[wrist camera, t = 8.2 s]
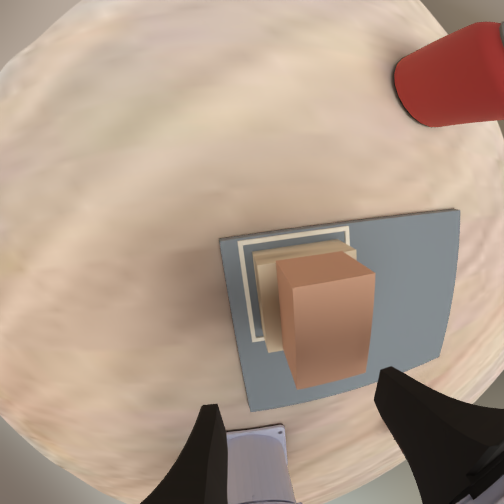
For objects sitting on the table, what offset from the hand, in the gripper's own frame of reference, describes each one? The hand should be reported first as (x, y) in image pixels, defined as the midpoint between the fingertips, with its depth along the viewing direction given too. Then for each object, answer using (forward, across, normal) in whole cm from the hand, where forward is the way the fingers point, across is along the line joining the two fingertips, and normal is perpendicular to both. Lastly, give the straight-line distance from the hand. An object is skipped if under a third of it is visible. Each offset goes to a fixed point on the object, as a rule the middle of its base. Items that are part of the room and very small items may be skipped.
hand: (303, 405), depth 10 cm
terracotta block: (+6, -2, -2) cm, 7 cm away
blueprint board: (+10, -8, +2) cm, 13 cm away
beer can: (+10, -15, -16) cm, 24 cm away
